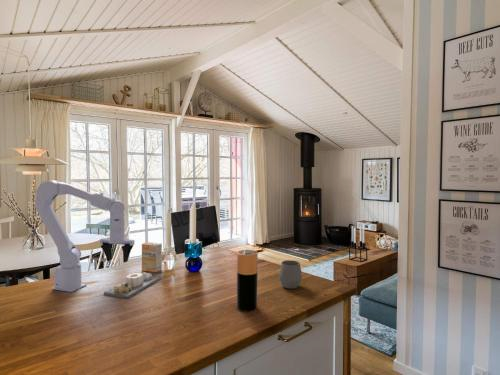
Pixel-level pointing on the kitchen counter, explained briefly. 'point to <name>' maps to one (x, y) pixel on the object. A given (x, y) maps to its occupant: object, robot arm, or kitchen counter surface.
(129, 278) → the loose gear
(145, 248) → the supplement box
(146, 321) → the kitchen counter surface
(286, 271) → the cup
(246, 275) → the battery
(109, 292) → the gear board
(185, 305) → the kitchen counter surface
